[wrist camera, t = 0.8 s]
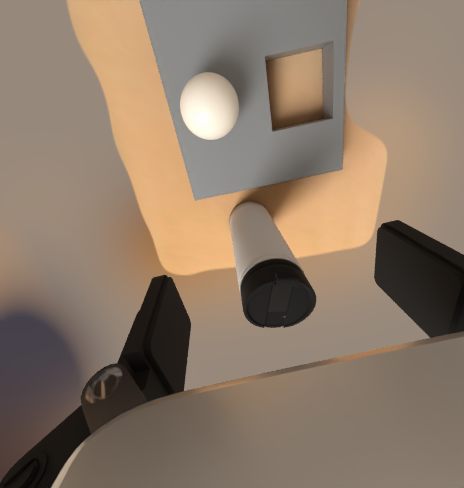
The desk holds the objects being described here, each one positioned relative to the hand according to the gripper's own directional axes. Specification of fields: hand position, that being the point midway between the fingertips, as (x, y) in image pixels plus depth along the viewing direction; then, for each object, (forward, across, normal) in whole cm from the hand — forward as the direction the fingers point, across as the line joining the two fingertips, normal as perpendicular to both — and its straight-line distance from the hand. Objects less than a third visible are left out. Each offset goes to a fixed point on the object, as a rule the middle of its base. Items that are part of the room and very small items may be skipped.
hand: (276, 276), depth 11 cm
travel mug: (+26, -1, +8) cm, 27 cm away
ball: (+20, +1, -8) cm, 21 cm away
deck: (+25, -4, -8) cm, 27 cm away
